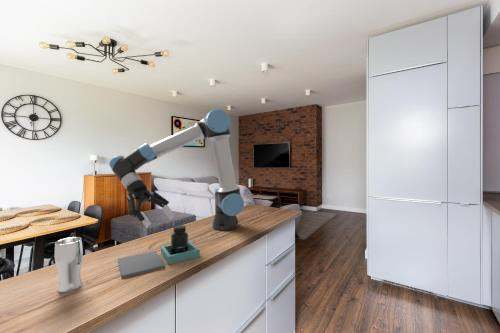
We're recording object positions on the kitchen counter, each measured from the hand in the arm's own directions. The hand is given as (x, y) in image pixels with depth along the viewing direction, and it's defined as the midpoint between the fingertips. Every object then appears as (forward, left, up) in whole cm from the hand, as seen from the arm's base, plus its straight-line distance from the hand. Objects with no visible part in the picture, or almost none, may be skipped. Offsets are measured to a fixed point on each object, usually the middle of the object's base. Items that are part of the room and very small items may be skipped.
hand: (161, 221), depth 101 cm
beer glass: (+31, +12, -14) cm, 35 cm away
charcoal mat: (+10, +7, -13) cm, 18 cm away
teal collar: (-5, +7, -13) cm, 16 cm away
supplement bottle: (-5, +7, -14) cm, 16 cm away
